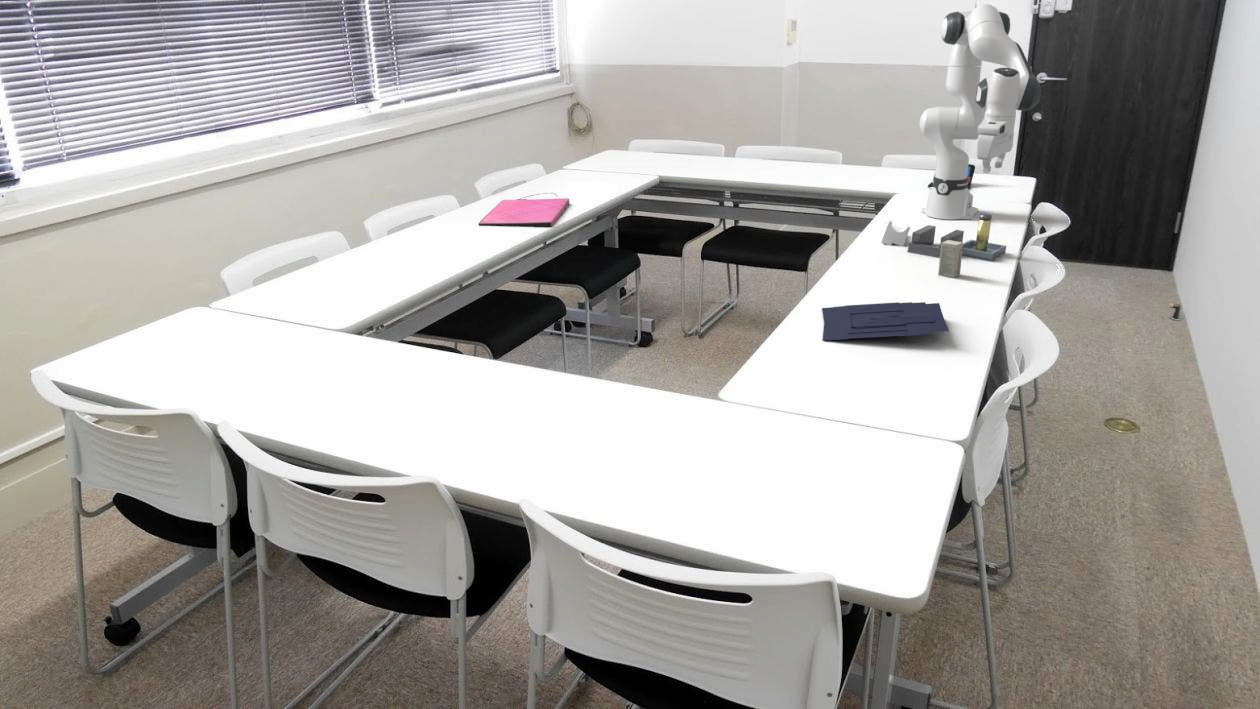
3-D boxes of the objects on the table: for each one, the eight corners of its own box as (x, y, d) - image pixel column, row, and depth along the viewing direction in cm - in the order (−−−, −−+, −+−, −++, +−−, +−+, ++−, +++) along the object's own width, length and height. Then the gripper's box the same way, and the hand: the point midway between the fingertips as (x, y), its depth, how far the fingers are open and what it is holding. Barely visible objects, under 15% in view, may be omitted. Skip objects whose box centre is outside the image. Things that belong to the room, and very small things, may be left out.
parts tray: (969, 247, 301) (970, 239, 300) (1005, 253, 294) (1006, 245, 293) (955, 254, 293) (956, 247, 292) (991, 261, 286) (992, 253, 285)
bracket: (901, 249, 303) (910, 227, 300) (881, 242, 304) (889, 221, 301) (901, 238, 315) (909, 218, 312) (881, 232, 316) (889, 211, 313)
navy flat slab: (950, 344, 220) (950, 330, 219) (823, 350, 227) (822, 337, 226) (938, 310, 242) (938, 297, 241) (822, 317, 249) (821, 304, 248)
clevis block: (926, 242, 306) (928, 225, 304) (961, 248, 299) (963, 231, 296) (907, 252, 296) (909, 234, 294) (943, 258, 289) (945, 240, 287)
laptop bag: (551, 218, 329) (477, 218, 332) (552, 229, 330) (478, 228, 334) (571, 192, 365) (505, 192, 368) (572, 202, 367) (506, 202, 370)
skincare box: (960, 275, 273) (964, 242, 270) (953, 278, 271) (957, 245, 267) (944, 271, 277) (948, 239, 273) (937, 274, 274) (941, 242, 270)
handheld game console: (926, 188, 382) (929, 166, 378) (935, 182, 392) (937, 161, 389) (965, 192, 374) (968, 170, 371) (973, 186, 385) (976, 164, 381)
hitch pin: (977, 249, 295) (982, 212, 291) (988, 251, 293) (993, 214, 288) (972, 251, 293) (978, 215, 288) (984, 253, 291) (989, 216, 286)
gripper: (1001, 119, 286) (994, 163, 292) (975, 127, 272) (969, 174, 278) (1021, 121, 283) (1014, 166, 288) (996, 129, 268) (990, 176, 274)
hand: (992, 170), depth 283 cm, fingers open, 8 cm apart
